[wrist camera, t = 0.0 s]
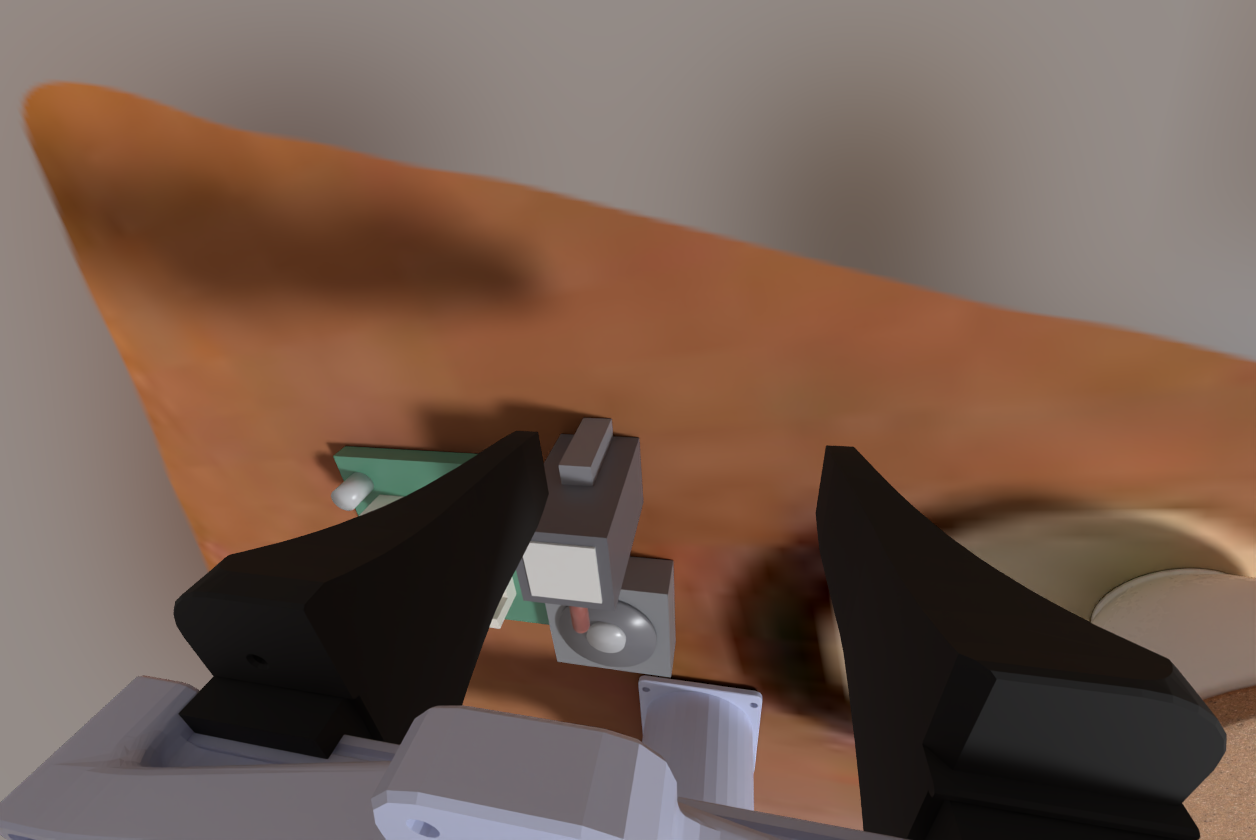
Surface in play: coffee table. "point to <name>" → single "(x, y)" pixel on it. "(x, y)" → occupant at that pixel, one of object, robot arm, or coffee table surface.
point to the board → (399, 473)
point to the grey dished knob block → (625, 624)
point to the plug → (585, 522)
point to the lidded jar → (1203, 673)
